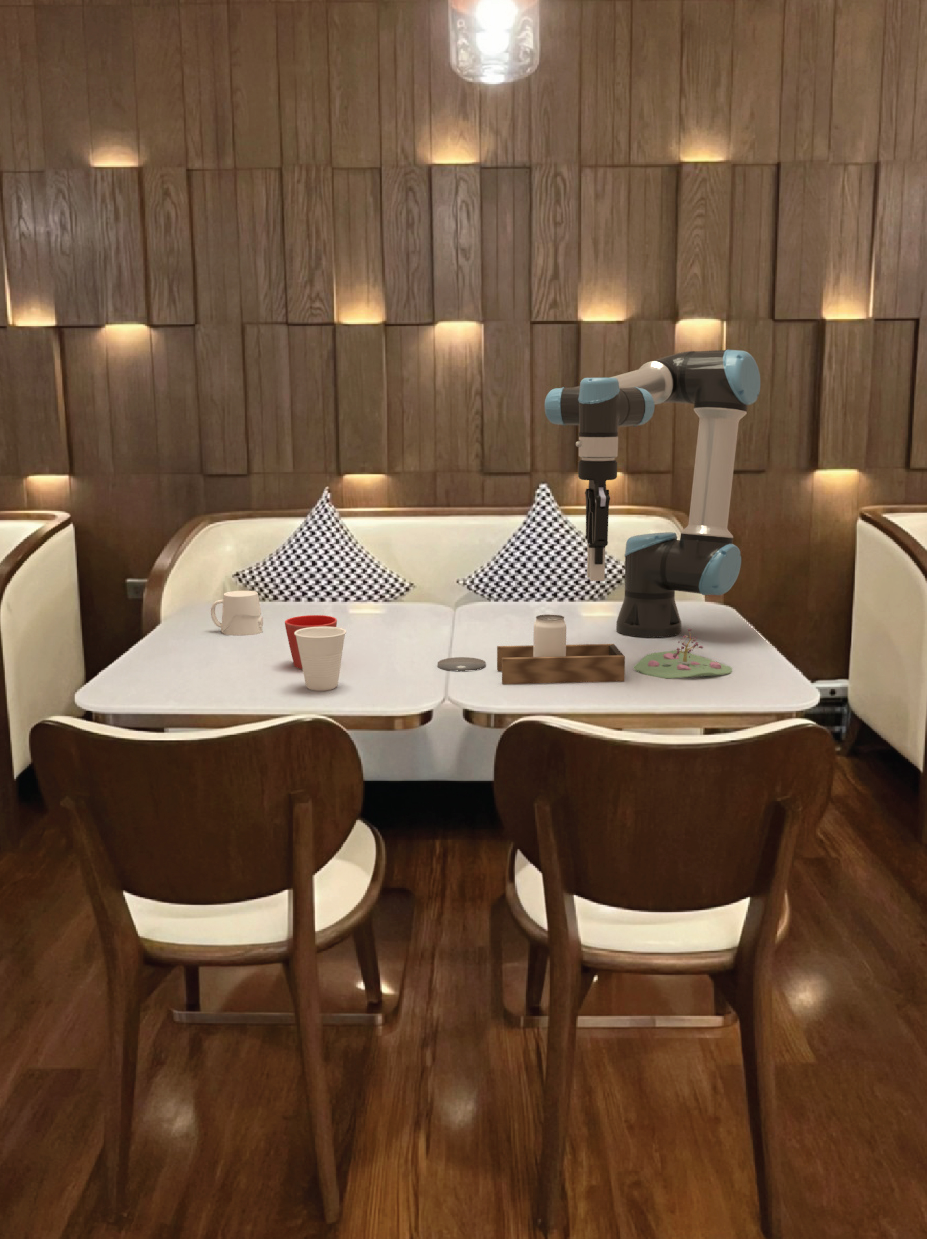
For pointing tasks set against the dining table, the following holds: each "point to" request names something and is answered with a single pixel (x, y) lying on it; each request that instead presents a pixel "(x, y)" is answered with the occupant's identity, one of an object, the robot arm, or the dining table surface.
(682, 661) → the plant
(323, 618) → the flower pot
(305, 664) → the cup
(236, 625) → the mug
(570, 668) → the channel
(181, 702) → the dining table surface
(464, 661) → the coaster
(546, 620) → the can
